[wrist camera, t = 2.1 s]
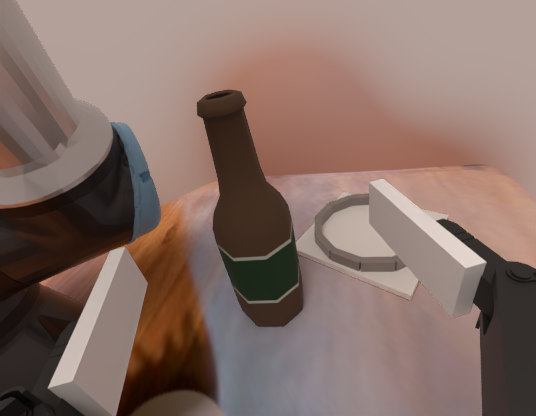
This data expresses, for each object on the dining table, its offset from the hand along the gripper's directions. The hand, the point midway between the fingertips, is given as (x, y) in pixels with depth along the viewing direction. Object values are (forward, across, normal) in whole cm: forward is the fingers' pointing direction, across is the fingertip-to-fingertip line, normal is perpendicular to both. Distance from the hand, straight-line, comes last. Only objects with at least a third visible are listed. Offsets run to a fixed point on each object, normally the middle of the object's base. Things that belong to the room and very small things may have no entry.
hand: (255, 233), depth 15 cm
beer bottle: (+10, 0, -19) cm, 21 cm away
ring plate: (+17, +15, -18) cm, 29 cm away
